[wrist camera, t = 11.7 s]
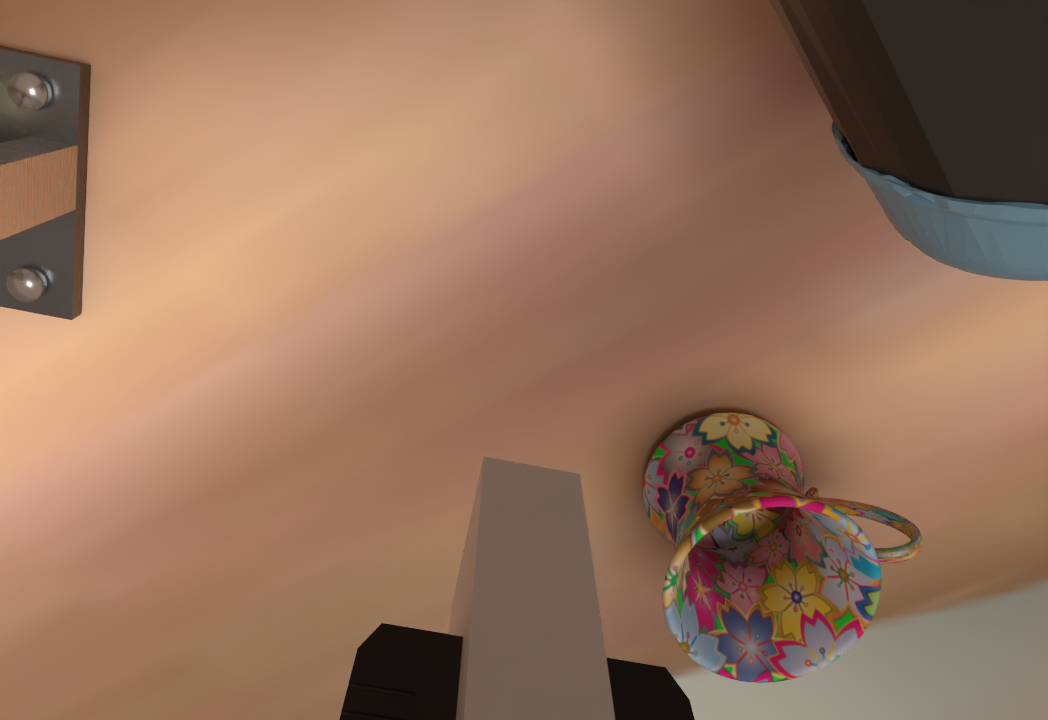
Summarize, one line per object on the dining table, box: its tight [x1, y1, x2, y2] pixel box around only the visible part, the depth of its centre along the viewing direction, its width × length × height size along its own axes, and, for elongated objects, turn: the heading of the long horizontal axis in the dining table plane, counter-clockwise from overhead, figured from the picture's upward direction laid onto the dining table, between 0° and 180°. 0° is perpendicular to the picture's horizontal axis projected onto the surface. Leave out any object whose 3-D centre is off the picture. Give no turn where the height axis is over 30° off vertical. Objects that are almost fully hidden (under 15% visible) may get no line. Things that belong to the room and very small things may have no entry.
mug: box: [643, 413, 922, 683], centre depth 43 cm, size 12×9×11 cm
